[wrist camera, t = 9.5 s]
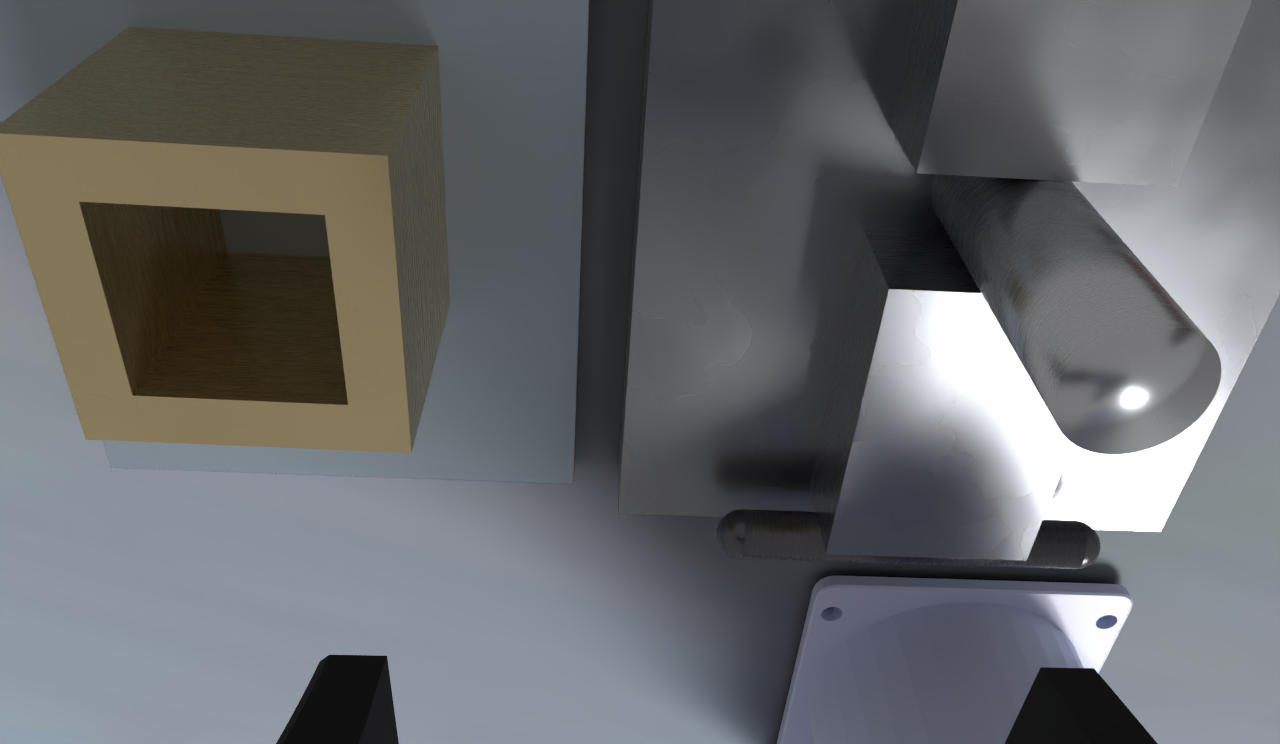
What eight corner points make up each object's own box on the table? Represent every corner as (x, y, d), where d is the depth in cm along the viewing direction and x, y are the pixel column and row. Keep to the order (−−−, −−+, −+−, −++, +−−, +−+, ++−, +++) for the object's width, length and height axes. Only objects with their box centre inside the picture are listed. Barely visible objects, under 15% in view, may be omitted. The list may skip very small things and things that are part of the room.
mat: (574, 466, 23) (573, 484, 22) (122, 450, 22) (111, 468, 22) (598, -262, 15) (597, -259, 14) (-112, -314, 14) (-137, -313, 14)
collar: (450, 303, 20) (411, 453, 16) (187, 290, 19) (86, 439, 16) (438, 45, 17) (388, 156, 13) (129, 26, 16) (-12, 133, 13)
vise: (1132, 486, 23) (1314, 778, 17) (618, 467, 23) (618, 764, 17) (1523, -362, 14) (2207, -376, 8) (676, -431, 14) (727, -503, 7)
